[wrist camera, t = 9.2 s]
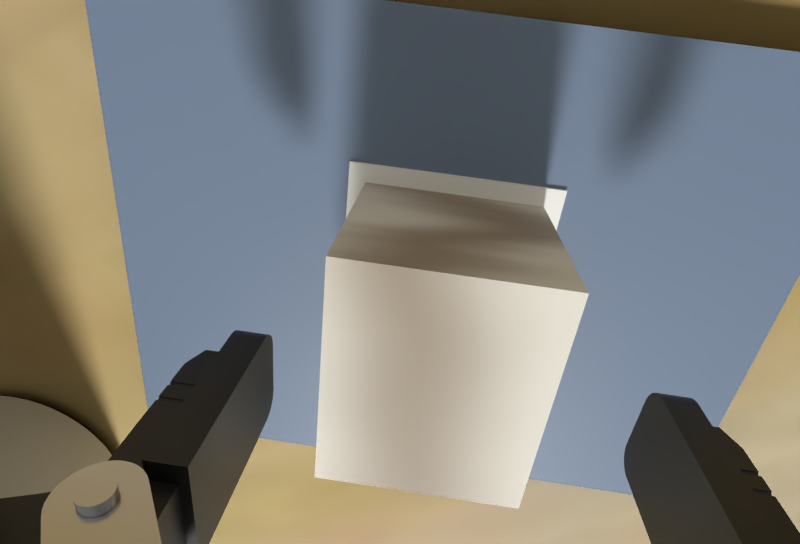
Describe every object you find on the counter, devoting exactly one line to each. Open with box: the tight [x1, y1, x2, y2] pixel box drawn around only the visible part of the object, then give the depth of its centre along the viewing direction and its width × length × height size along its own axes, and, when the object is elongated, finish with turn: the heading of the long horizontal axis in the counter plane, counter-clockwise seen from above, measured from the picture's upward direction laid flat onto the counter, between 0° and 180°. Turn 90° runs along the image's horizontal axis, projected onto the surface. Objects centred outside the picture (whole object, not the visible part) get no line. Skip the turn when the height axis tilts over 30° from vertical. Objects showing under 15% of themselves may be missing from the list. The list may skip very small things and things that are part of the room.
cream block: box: [315, 182, 589, 509], centre depth 13 cm, size 5×6×5 cm
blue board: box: [85, 0, 800, 495], centre depth 16 cm, size 20×15×1 cm
